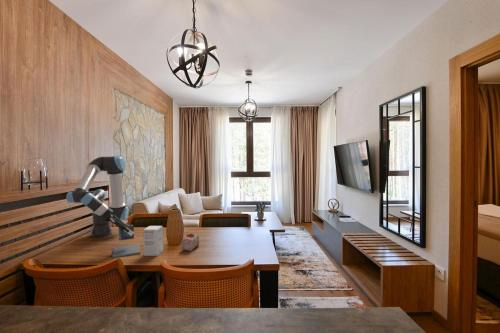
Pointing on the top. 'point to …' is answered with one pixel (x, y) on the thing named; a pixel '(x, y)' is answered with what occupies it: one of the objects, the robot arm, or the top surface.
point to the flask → (124, 235)
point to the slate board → (126, 250)
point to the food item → (190, 242)
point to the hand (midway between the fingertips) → (132, 233)
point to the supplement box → (153, 240)
